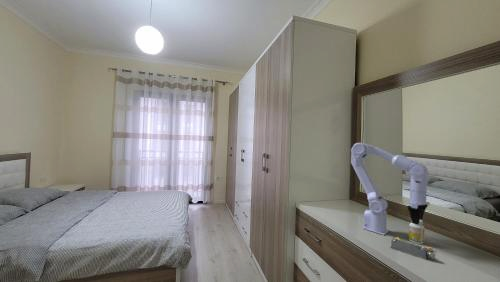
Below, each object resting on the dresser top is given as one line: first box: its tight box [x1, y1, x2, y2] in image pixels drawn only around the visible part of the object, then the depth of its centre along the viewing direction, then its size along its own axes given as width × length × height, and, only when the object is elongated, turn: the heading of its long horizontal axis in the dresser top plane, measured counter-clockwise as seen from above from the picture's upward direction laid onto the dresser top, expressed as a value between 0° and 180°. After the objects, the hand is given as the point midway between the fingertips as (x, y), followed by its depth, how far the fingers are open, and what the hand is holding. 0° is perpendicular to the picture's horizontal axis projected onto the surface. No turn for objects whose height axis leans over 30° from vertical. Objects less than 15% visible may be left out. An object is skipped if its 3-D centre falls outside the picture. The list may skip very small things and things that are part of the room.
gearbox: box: [390, 237, 436, 260], centre depth 83 cm, size 13×4×3 cm, turn 43°
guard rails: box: [395, 236, 434, 252], centre depth 88 cm, size 12×8×1 cm, turn 43°
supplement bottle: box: [408, 219, 426, 245], centre depth 94 cm, size 5×5×10 cm
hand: (417, 221), depth 94 cm, fingers open, 7 cm apart
